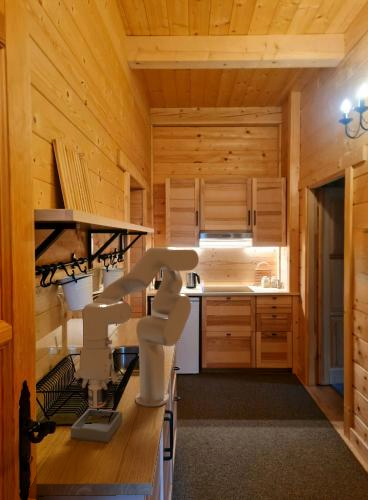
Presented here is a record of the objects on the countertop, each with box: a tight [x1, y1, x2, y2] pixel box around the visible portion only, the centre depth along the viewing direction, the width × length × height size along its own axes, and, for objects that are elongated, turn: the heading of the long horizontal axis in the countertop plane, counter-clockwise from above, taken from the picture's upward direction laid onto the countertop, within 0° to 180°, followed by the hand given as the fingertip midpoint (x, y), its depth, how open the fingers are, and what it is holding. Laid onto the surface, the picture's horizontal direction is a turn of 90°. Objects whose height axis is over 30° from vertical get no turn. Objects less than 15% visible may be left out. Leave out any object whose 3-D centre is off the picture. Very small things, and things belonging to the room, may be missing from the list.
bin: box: [70, 407, 123, 444], centre depth 109 cm, size 12×12×4 cm
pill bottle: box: [87, 380, 107, 409], centre depth 109 cm, size 5×5×9 cm
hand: (96, 398), depth 109 cm, fingers closed on pill bottle, 5 cm apart
